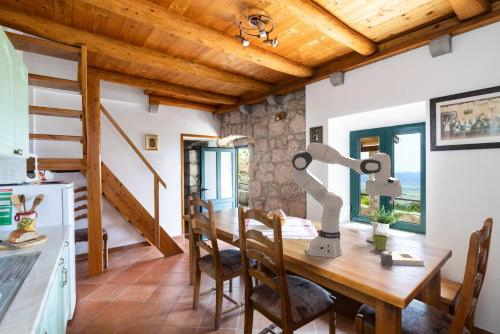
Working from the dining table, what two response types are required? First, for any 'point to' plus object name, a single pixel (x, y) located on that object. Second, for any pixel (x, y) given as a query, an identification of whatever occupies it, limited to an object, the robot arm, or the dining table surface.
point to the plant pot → (380, 241)
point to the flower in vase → (374, 224)
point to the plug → (386, 258)
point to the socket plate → (405, 258)
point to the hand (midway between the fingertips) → (382, 203)
